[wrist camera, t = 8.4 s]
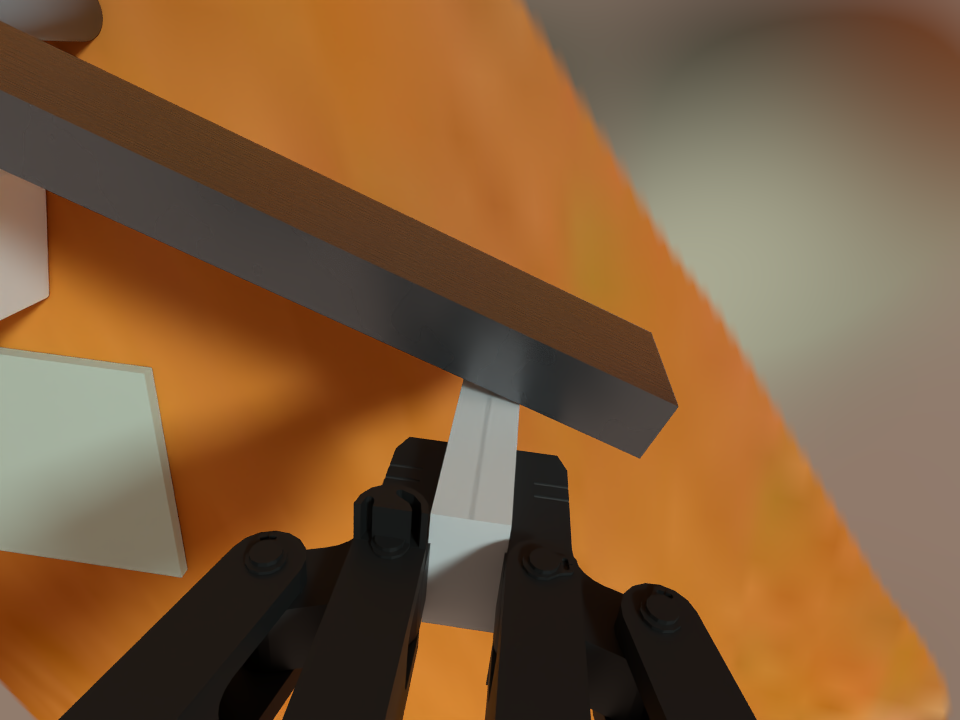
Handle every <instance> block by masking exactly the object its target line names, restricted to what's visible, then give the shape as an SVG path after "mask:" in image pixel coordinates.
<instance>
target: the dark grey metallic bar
mask: <svg viewBox="0 0 960 720" xmlns="http://www.w3.org/2000/svg"><path fill="white" fill-rule="evenodd" d="M0 169H2V170H4V171H6V172H8V173H10V174H13V175H15V176H17V177H19V178H21V179H24V180H26V181H28V182H30V183H32V184H35V185H37V186H39V187H41V188H44V189H46V190H48V191H50V192H52V193H55V194H57V195H59V196H61V197H63V198H66V199H68V200H70V201H72V202H74V203H77V204H79V205H81V206H83V207H85V208H88V209H90V210H92V211H94V212H97V213H99V214H101V215H103V216H105V217H108V218H110V219H112V220H114V221H116V222H119V223H121V224H123V225H125V226H127V227H130V228H132V229H134V230H136V231H138V232H141V233H143V234H145V235H147V236H150V237H152V238H154V239H156V240H158V241H161V242H163V243H165V244H167V245H169V246H172V247H174V248H176V249H178V250H180V251H183V252H185V253H187V254H189V255H191V256H194V257H196V258H198V259H200V260H203V261H205V262H207V263H209V264H211V265H214V266H216V267H218V268H220V269H222V270H225V271H227V272H229V273H231V274H233V275H236V276H238V277H240V278H242V279H244V280H247V281H249V282H251V283H253V284H256V285H258V286H260V287H262V288H264V289H267V290H269V291H271V292H273V293H275V294H278V295H280V296H282V297H284V298H286V299H289V300H291V301H293V302H295V303H297V304H300V305H302V306H304V307H306V308H309V309H311V310H313V311H315V312H317V313H320V314H322V315H324V316H326V317H328V318H331V319H333V320H335V321H337V322H339V323H342V324H344V325H346V326H348V327H350V328H353V329H355V330H357V331H359V332H362V333H364V334H366V335H368V336H370V337H373V338H375V339H377V340H379V341H381V342H384V343H386V344H388V345H390V346H392V347H395V348H397V349H399V350H401V351H404V352H406V353H408V354H410V355H412V356H415V357H417V358H419V359H421V360H423V361H426V362H428V363H430V364H432V365H434V366H437V367H439V368H441V369H443V370H445V371H448V372H450V373H452V374H454V375H457V376H459V377H461V378H463V379H465V380H468V381H470V382H472V383H474V384H476V385H479V386H481V387H483V388H485V389H487V390H490V391H492V392H494V393H496V394H498V395H501V396H503V397H505V398H507V399H510V400H512V401H514V402H516V403H518V404H521V405H523V406H525V407H527V408H529V409H532V410H534V411H536V412H538V413H540V414H543V415H545V416H547V417H549V418H551V419H554V420H556V421H558V422H560V423H563V424H565V425H567V426H569V427H571V428H574V429H576V430H578V431H580V432H582V433H585V434H587V435H589V436H591V437H593V438H596V439H598V440H600V441H602V442H604V443H607V444H609V445H611V446H613V447H616V448H618V449H620V450H622V451H624V452H627V453H629V454H631V455H633V456H635V457H638V458H641V456H642V455H643V454H644V452H645V451H646V450H647V448H648V447H649V446H650V444H651V443H652V442H653V440H654V439H655V438H656V436H657V435H658V433H659V432H660V431H661V429H662V428H663V427H664V425H665V424H666V423H667V421H668V420H669V419H670V417H671V416H672V415H673V413H674V412H675V411H676V409H677V408H678V404H677V401H676V399H675V396H674V393H673V390H672V388H671V385H670V382H669V380H668V377H667V374H666V371H665V369H664V366H663V363H662V361H661V358H660V355H659V353H658V350H657V347H656V344H655V342H654V339H653V336H652V334H651V332H649V331H647V330H644V329H642V328H640V327H638V326H636V325H634V324H632V323H630V322H628V321H626V320H624V319H622V318H619V317H617V316H615V315H613V314H611V313H609V312H607V311H605V310H603V309H601V308H599V307H596V306H594V305H592V304H590V303H588V302H586V301H584V300H582V299H580V298H578V297H576V296H574V295H571V294H569V293H567V292H565V291H563V290H561V289H559V288H557V287H555V286H553V285H551V284H548V283H546V282H544V281H542V280H540V279H538V278H536V277H534V276H532V275H530V274H528V273H526V272H523V271H521V270H519V269H517V268H515V267H513V266H511V265H509V264H507V263H505V262H503V261H501V260H498V259H496V258H494V257H492V256H490V255H488V254H486V253H484V252H482V251H480V250H478V249H475V248H473V247H471V246H469V245H467V244H465V243H463V242H461V241H459V240H457V239H455V238H453V237H450V236H448V235H446V234H444V233H442V232H440V231H438V230H436V229H434V228H432V227H430V226H427V225H425V224H423V223H421V222H419V221H417V220H415V219H413V218H411V217H409V216H407V215H405V214H402V213H400V212H398V211H396V210H394V209H392V208H390V207H388V206H386V205H384V204H382V203H380V202H377V201H375V200H373V199H371V198H369V197H367V196H365V195H363V194H361V193H359V192H357V191H354V190H352V189H350V188H348V187H346V186H344V185H342V184H340V183H338V182H336V181H334V180H332V179H329V178H327V177H325V176H323V175H321V174H319V173H317V172H315V171H313V170H311V169H309V168H306V167H304V166H302V165H300V164H298V163H296V162H294V161H292V160H290V159H288V158H286V157H284V156H281V155H279V154H277V153H275V152H273V151H271V150H269V149H267V148H265V147H263V146H261V145H259V144H256V143H254V142H252V141H250V140H248V139H246V138H244V137H242V136H240V135H238V134H236V133H233V132H231V131H229V130H227V129H225V128H223V127H221V126H219V125H217V124H215V123H213V122H211V121H208V120H206V119H204V118H202V117H200V116H198V115H196V114H194V113H192V112H190V111H188V110H185V109H183V108H181V107H179V106H177V105H175V104H173V103H171V102H169V101H167V100H165V99H163V98H160V97H158V96H156V95H154V94H152V93H150V92H148V91H146V90H144V89H142V88H140V87H138V86H135V85H133V84H131V83H129V82H127V81H125V80H123V79H121V78H119V77H117V76H115V75H112V74H110V73H108V72H106V71H104V70H102V69H100V68H98V67H96V66H94V65H92V64H90V63H87V62H85V61H83V60H81V59H79V58H77V57H75V56H73V55H71V54H69V53H67V52H64V51H62V50H60V49H58V48H56V47H54V46H52V45H50V44H48V43H46V42H44V41H42V40H39V39H37V38H35V37H33V36H31V35H29V34H27V33H25V32H23V31H21V30H19V29H17V28H14V27H12V26H10V25H8V24H6V23H4V22H2V21H0Z"/></svg>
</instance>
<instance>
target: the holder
mask: <svg viewBox="0 0 960 720" xmlns="http://www.w3.org/2000/svg"><path fill="white" fill-rule="evenodd" d="M0 21H2V22H4V23H6V24H8V25H10V26H12V27H14V28H17V29H19V30H21V31H23V32H25V33H27V34H29V35H31V36H33V37H35V38H37V39H39V40H45V41H81V42H85V41H90V40H92V39H94V38H95V37H96V36H97V35H98V34H99V32H100V30H101V27H102V21H103V17H102V10H101V7H100V4H99V2H98V0H0Z"/></svg>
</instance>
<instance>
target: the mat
mask: <svg viewBox="0 0 960 720" xmlns="http://www.w3.org/2000/svg"><path fill="white" fill-rule="evenodd" d="M0 550H2V551H9V552H15V553H22V554H28V555H35V556H42V557H48V558H55V559H62V560H68V561H75V562H82V563H88V564H95V565H101V566H108V567H115V568H121V569H128V570H135V571H141V572H148V573H155V574H161V575H168V576H174V577H181V578H182V577H183V575H184V574H185V572H186V571H187V570H188V569H187V564H186V558H185V552H184V547H183V541H182V535H181V530H180V524H179V519H178V513H177V507H176V502H175V496H174V490H173V485H172V479H171V473H170V468H169V462H168V456H167V451H166V445H165V440H164V434H163V428H162V423H161V417H160V411H159V406H158V400H157V394H156V389H155V383H154V378H153V372H152V368H150V367H143V366H135V365H128V364H120V363H113V362H105V361H98V360H90V359H83V358H76V357H68V356H61V355H53V354H46V353H38V352H31V351H23V350H16V349H8V348H1V347H0Z"/></svg>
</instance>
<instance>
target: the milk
mask: <svg viewBox="0 0 960 720" xmlns="http://www.w3.org/2000/svg"><path fill="white" fill-rule="evenodd" d="M48 296H49V271H48V242H47V213H46V189H44V188H41V187H39V186H37V185H35V184H32V183H30V182H28V181H26V180H24V179H21V178H19V177H17V176H15V175H13V174H10V173H8V172H6V171H4V170H2V169H0V320H2V319H4V318H6V317H8V316H10V315H12V314H14V313H17V312H19V311H21V310H23V309H25V308H27V307H29V306H31V305H33V304H35V303H37V302H39V301H41V300H43V299H45V298H47V297H48Z"/></svg>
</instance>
